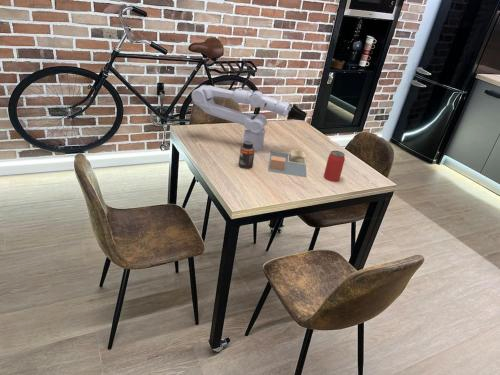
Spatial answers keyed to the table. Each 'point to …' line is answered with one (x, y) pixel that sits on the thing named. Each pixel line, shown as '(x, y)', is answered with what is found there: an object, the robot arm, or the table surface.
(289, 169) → the board
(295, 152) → the base block
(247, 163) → the supplement bottle
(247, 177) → the table surface
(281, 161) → the terracotta block
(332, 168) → the beer can
